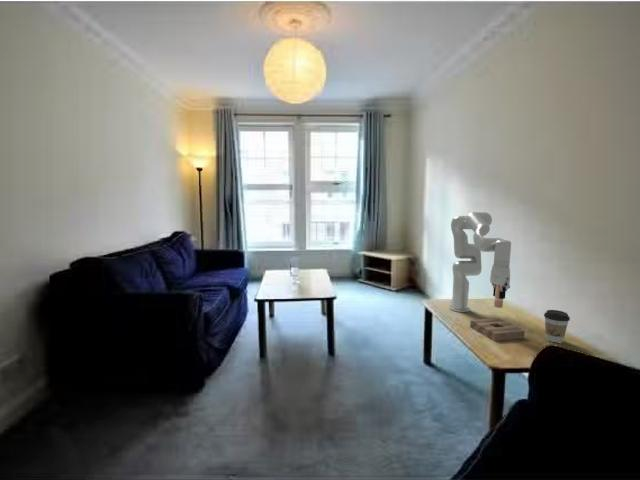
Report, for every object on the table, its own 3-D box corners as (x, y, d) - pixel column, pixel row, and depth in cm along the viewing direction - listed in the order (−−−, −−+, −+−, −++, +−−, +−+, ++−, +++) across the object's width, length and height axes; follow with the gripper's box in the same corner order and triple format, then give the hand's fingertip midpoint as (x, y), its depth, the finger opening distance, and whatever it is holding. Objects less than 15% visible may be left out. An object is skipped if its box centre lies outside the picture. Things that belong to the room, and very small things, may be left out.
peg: (492, 305, 206) (494, 280, 204) (499, 305, 207) (500, 279, 205) (497, 308, 202) (499, 282, 200) (504, 307, 203) (506, 281, 201)
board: (470, 327, 214) (470, 320, 213) (497, 324, 218) (498, 318, 217) (494, 340, 194) (494, 333, 194) (524, 338, 199) (524, 330, 198)
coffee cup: (540, 341, 194) (543, 313, 192) (542, 335, 204) (544, 307, 202) (567, 347, 188) (570, 317, 186) (567, 339, 197) (570, 311, 195)
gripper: (485, 260, 208) (482, 293, 211) (506, 266, 192) (503, 302, 195) (497, 260, 210) (494, 292, 212) (519, 266, 194) (516, 301, 196)
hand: (499, 296), depth 203 cm, fingers closed on peg, 4 cm apart
